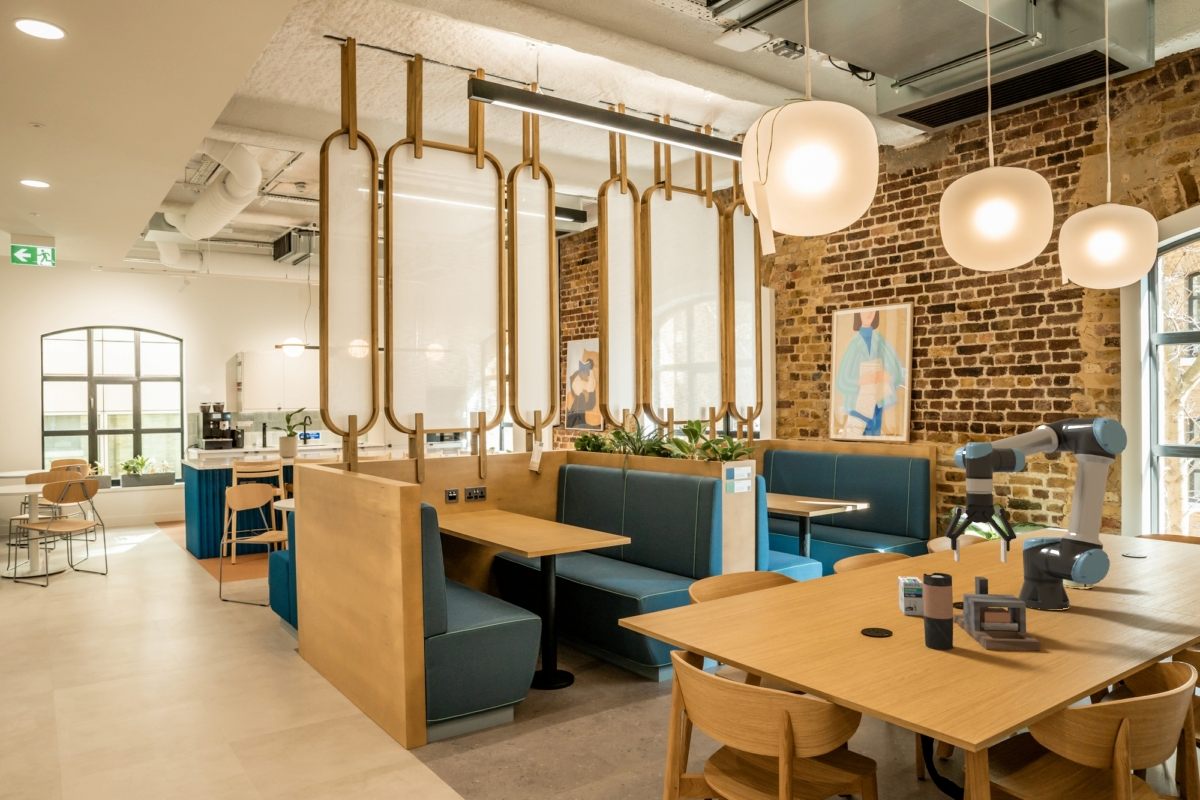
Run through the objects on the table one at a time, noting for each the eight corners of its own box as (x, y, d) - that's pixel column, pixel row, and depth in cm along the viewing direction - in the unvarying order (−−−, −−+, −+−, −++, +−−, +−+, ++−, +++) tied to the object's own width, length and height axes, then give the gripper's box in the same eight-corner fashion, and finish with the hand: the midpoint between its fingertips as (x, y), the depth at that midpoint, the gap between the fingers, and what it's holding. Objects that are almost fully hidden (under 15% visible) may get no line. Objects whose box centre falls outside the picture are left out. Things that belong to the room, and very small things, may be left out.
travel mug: (951, 651, 216) (950, 578, 217) (922, 647, 220) (920, 576, 221) (955, 644, 223) (954, 574, 223) (926, 641, 227) (925, 571, 227)
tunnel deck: (954, 621, 248) (953, 586, 248) (1001, 623, 246) (1000, 587, 246) (985, 649, 218) (985, 609, 219) (1039, 650, 216) (1038, 610, 217)
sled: (963, 615, 245) (962, 576, 245) (997, 615, 243) (996, 576, 244) (981, 629, 228) (980, 588, 228) (1018, 630, 227) (1017, 588, 227)
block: (1003, 624, 234) (1002, 607, 234) (1010, 630, 228) (1010, 612, 228) (978, 624, 235) (977, 607, 235) (985, 629, 229) (984, 612, 230)
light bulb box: (925, 616, 255) (924, 583, 255) (903, 615, 256) (903, 582, 257) (919, 608, 266) (918, 576, 266) (898, 607, 267) (897, 575, 267)
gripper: (1017, 491, 245) (1018, 560, 244) (933, 490, 249) (934, 558, 248) (1027, 493, 238) (1028, 564, 237) (940, 493, 241) (941, 562, 241)
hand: (980, 561), depth 243 cm, fingers open, 13 cm apart
